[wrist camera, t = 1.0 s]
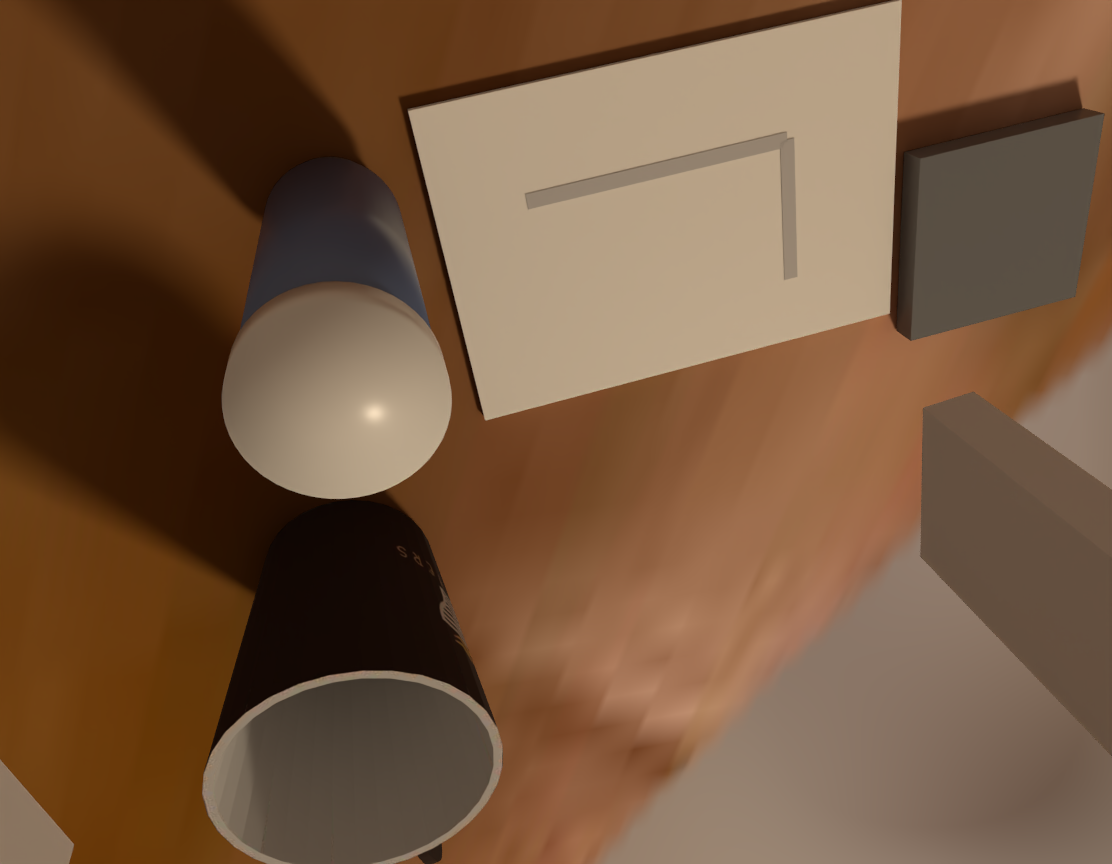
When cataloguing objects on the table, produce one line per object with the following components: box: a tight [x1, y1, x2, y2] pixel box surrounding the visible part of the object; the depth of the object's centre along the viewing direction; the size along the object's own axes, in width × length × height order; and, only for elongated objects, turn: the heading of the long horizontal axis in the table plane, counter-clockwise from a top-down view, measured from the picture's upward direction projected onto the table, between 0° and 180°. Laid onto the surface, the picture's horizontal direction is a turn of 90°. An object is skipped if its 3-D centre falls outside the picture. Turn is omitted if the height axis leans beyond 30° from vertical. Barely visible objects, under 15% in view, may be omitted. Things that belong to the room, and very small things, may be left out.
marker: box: [222, 157, 452, 499], centre depth 22 cm, size 4×4×13 cm
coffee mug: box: [202, 500, 503, 864], centre depth 31 cm, size 12×9×10 cm
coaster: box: [896, 108, 1104, 341], centre depth 33 cm, size 7×7×1 cm
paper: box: [407, 0, 902, 420], centre depth 30 cm, size 16×11×1 cm
